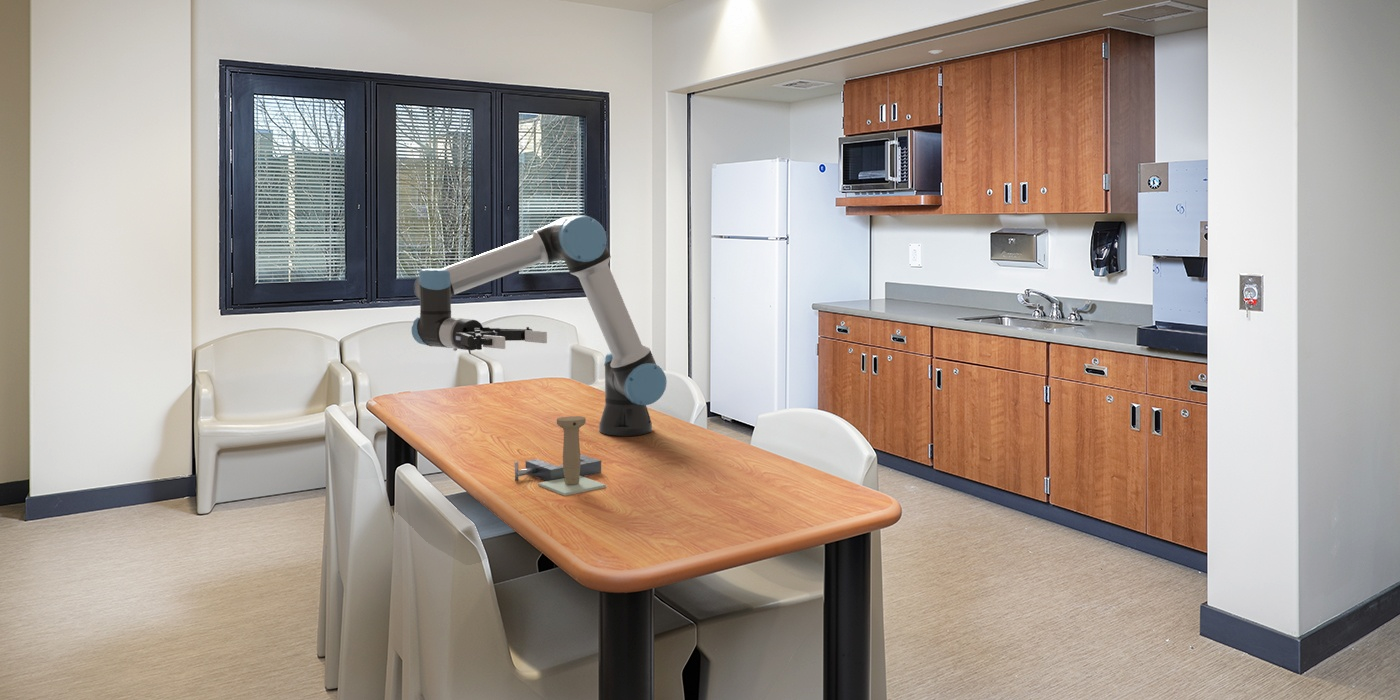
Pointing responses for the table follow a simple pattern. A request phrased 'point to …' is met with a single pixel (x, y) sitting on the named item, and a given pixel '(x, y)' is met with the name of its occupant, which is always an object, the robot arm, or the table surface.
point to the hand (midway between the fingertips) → (525, 340)
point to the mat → (572, 486)
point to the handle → (571, 447)
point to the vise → (556, 469)
